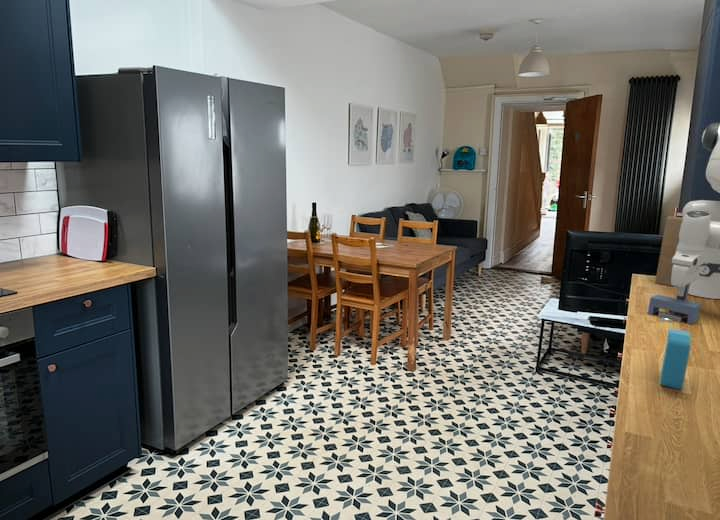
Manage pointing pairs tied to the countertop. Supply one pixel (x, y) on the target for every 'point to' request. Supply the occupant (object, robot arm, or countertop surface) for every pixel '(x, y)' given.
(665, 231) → the decorative block
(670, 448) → the countertop surface
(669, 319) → the steel token
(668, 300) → the blue-grey bridge block
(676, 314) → the scraper
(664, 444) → the countertop surface
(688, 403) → the countertop surface
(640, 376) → the countertop surface
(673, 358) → the data package
